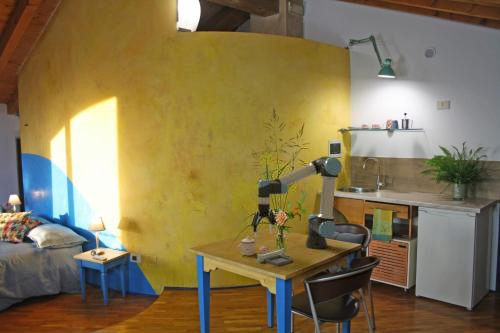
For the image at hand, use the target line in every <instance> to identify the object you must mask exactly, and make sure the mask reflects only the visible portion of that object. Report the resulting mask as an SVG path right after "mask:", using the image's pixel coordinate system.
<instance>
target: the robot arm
mask: <svg viewBox="0 0 500 333" xmlns="http://www.w3.org/2000/svg"><path fill="white" fill-rule="evenodd" d="M342 169H343V165H342V163H341V160H340V159H338V158H337V157H334V156H322V157H319V158H317V159H315V160H312V161H310V162H309V163H308V164H307V165H305V166H303V167H300V168H298V169H295V170H293V171H291V172H288V173H286V174H284V175H282V176H280V177H277V178H275V179H270V180H269V179H259V181H258V185H257V188H258V189H257V191H258V192H257V193H258V194H257V196H258V197H257V200H258V201H257V203H258V204H257V209H258V211H254V215H253V219H252V221H251V224H250V226H251V227H252V228H253V237H254V238H258V237H259V228H258V225H260V222H261V220H263V219H264V218H266V219H267V220H268V222H269V225H268V231H269V232H268V234H270V235H273V234H274V231H273V230H274V225H275V224H276V223H277V221H276V219H275V214H274V211H273V209H271V208H270V206H271V205H270V203H271V201H270V200H271V199H270V197H271V196H270V195H284V194H287V193H288V190H289V188H288V187H289V186H291V185H292V184H295V183H297V182H300V181H302V180H303V179H306V178H308V177H310V176H313V175H314V176H316V175H319V174H320V177H321V178H322V182H321V194H320V205H319V213H318V214H317V213H316V214H309V215H308V217H307V218H308V219H307V222H308V225H307V226H308V228H307V229H308V230H307V231H308V233H307V238H306V241H305V247H306V248H308V249H316V250H321V249H322V250H323V249H326V248H328V242H327V238H331V237H332V236H333V235H335V233H336V230H337V226H336V224H335V217H334V215H333V211H334V210H333V208H334V202H335V201H334V199H335V191H336V181H337V179H338V178H339V174H340V173H341V172H342Z"/></svg>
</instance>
